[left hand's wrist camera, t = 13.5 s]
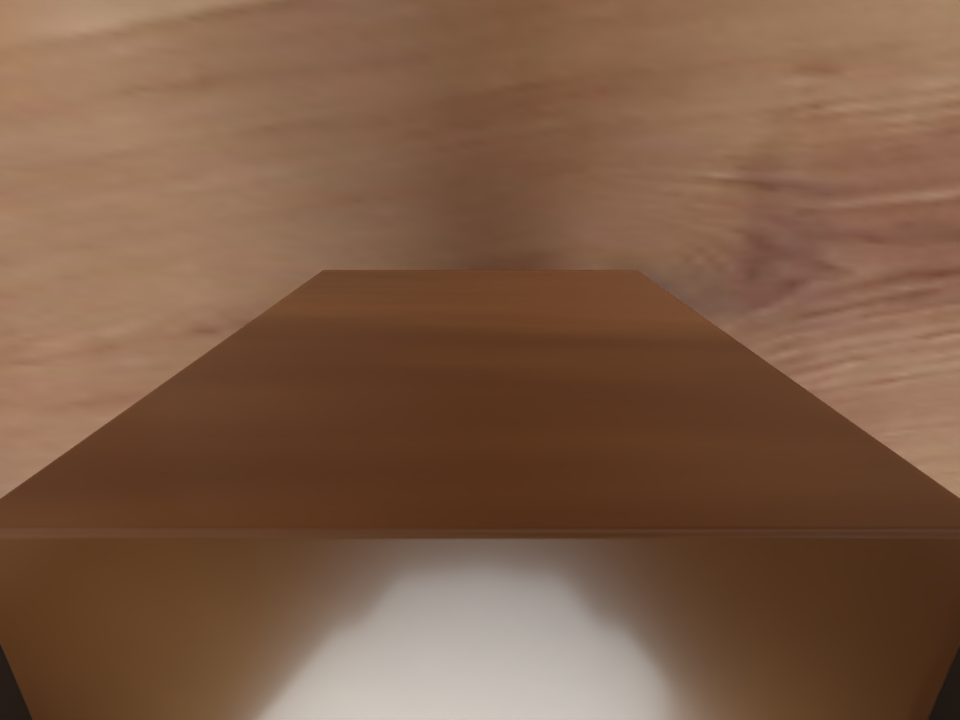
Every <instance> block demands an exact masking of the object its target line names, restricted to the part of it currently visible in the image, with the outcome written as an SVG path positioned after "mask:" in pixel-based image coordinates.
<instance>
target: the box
mask: <svg viewBox="0 0 960 720" xmlns="http://www.w3.org/2000/svg"><path fill="white" fill-rule="evenodd" d="M0 644H1V647H2V649H3V651H4V654H5V656H6V658H7V661H8V663H9V666H10V668H11V670H12V673H13V675H14V677H15V680H16V682H17V684H18V687H19V689H20V692H21V694H22V696H23V699H24V701H25V703H26V706H27V708H28V710H29V713H30V715H31V718H32V720H929V717H930V715H931V713H932V710H933V708H934V706H935V703H936V701H937V698H938V696H939V694H940V691H941V689H942V687H943V684H944V682H945V680H946V677H947V675H948V673H949V670H950V668H951V665H952V663H953V661H954V658H955V656H956V654H957V651H958V649H959V647H960V498H959V497H957V496H956V495H954V494H953V493H951V492H950V491H949V490H947V489H946V488H944V487H943V486H942V485H940V484H939V483H937V482H936V481H935V480H933V479H932V478H930V477H929V476H927V475H926V474H925V473H923V472H922V471H920V470H919V469H918V468H916V467H915V466H913V465H912V464H910V463H909V462H908V461H906V460H905V459H903V458H902V457H901V456H899V455H898V454H896V453H895V452H893V451H892V450H891V449H889V448H888V447H886V446H885V445H884V444H882V443H881V442H879V441H878V440H876V439H875V438H874V437H872V436H871V435H869V434H868V433H867V432H865V431H864V430H862V429H861V428H860V427H858V426H857V425H855V424H854V423H852V422H851V421H850V420H848V419H847V418H845V417H844V416H843V415H841V414H840V413H838V412H837V411H835V410H834V409H833V408H831V407H830V406H828V405H827V404H826V403H824V402H823V401H821V400H820V399H818V398H817V397H816V396H814V395H813V394H811V393H810V392H809V391H807V390H806V389H804V388H803V387H802V386H800V385H799V384H797V383H796V382H794V381H793V380H792V379H790V378H789V377H787V376H786V375H785V374H783V373H782V372H780V371H779V370H777V369H776V368H775V367H773V366H772V365H770V364H769V363H768V362H766V361H765V360H763V359H762V358H760V357H759V356H758V355H756V354H755V353H753V352H752V351H751V350H749V349H748V348H746V347H745V346H743V345H742V344H741V343H739V342H738V341H736V340H735V339H734V338H732V337H731V336H729V335H728V334H727V333H725V332H724V331H722V330H721V329H719V328H718V327H717V326H715V325H714V324H712V323H711V322H710V321H708V320H707V319H705V318H704V317H702V316H701V315H700V314H698V313H697V312H695V311H694V310H693V309H691V308H690V307H688V306H687V305H685V304H684V303H683V302H681V301H680V300H678V299H677V298H676V297H674V296H673V295H671V294H670V293H669V292H667V291H666V290H664V289H663V288H661V287H660V286H659V285H657V284H656V283H654V282H653V281H652V280H650V279H649V278H647V277H646V276H644V275H643V274H642V273H640V272H639V271H637V270H323V271H322V272H320V273H319V274H317V275H316V276H314V277H313V278H312V279H310V280H309V281H307V282H306V283H305V284H303V285H302V286H300V287H299V288H298V289H296V290H295V291H293V292H292V293H290V294H289V295H288V296H286V297H285V298H283V299H282V300H281V301H279V302H278V303H276V304H275V305H274V306H272V307H271V308H269V309H268V310H266V311H265V312H264V313H262V314H261V315H259V316H258V317H257V318H255V319H254V320H252V321H251V322H249V323H248V324H247V325H245V326H244V327H242V328H241V329H240V330H238V331H237V332H235V333H234V334H233V335H231V336H230V337H228V338H227V339H225V340H224V341H223V342H221V343H220V344H218V345H217V346H216V347H214V348H213V349H211V350H210V351H209V352H207V353H206V354H204V355H203V356H201V357H200V358H199V359H197V360H196V361H194V362H193V363H192V364H190V365H189V366H187V367H186V368H185V369H183V370H182V371H180V372H179V373H177V374H176V375H175V376H173V377H172V378H170V379H169V380H168V381H166V382H165V383H163V384H162V385H160V386H159V387H158V388H156V389H155V390H153V391H152V392H151V393H149V394H148V395H146V396H145V397H144V398H142V399H141V400H139V401H138V402H136V403H135V404H134V405H132V406H131V407H129V408H128V409H127V410H125V411H124V412H122V413H121V414H120V415H118V416H117V417H115V418H114V419H112V420H111V421H110V422H108V423H107V424H105V425H104V426H103V427H101V428H100V429H98V430H97V431H95V432H94V433H93V434H91V435H90V436H88V437H87V438H86V439H84V440H83V441H81V442H80V443H79V444H77V445H76V446H74V447H73V448H71V449H70V450H69V451H67V452H66V453H64V454H63V455H62V456H60V457H59V458H57V459H56V460H55V461H53V462H52V463H50V464H49V465H47V466H46V467H45V468H43V469H42V470H40V471H39V472H38V473H36V474H35V475H33V476H32V477H30V478H29V479H28V480H26V481H25V482H23V483H22V484H21V485H19V486H18V487H16V488H15V489H14V490H12V491H11V492H9V493H8V494H6V495H5V496H4V497H2V498H1V499H0Z"/></svg>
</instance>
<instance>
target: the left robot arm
mask: <svg viewBox="0 0 960 720" xmlns="http://www.w3.org/2000/svg"><path fill="white" fill-rule="evenodd" d="M0 720H32V718H31V715H30V713H29V710H28V708H27V706H26V703H25V701H24V699H23V696H22V694H21V692H20V689H19V687H18V684H17V682H16V680H15V677H14V675H13V673H12V670H11V668H10V666H9V663H8V661H7V658H6V656H5V654H4V651H3V649H2V647H1V644H0ZM929 720H960V647H959V649H958V651H957V654H956V656H955V658H954V661H953V663H952V665H951V668H950V670H949V673H948V675H947V677H946V680H945V682H944V684H943V687H942V689H941V691H940V694H939V696H938V698H937V701H936V703H935V706H934V708H933V710H932V713H931V715H930V717H929Z"/></svg>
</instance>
